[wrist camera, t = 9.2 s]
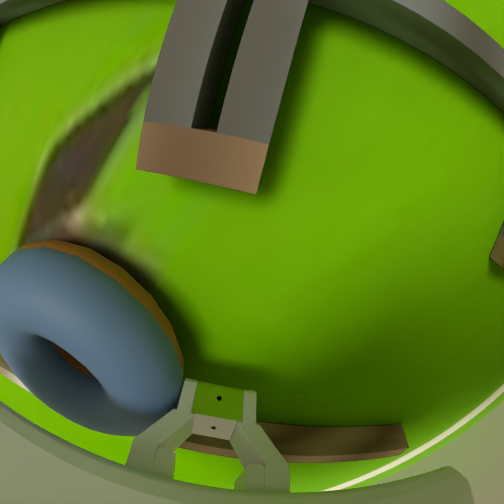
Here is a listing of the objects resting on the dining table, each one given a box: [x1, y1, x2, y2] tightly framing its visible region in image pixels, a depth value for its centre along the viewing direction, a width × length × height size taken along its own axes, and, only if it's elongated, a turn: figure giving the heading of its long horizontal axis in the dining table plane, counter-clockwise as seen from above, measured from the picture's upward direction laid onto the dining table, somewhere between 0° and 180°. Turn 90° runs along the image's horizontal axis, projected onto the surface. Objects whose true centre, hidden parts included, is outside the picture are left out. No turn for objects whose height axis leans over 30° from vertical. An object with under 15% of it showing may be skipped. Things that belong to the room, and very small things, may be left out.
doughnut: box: [0, 240, 184, 436], centre depth 10 cm, size 10×10×5 cm
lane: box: [0, 0, 504, 463], centre depth 8 cm, size 32×22×3 cm
